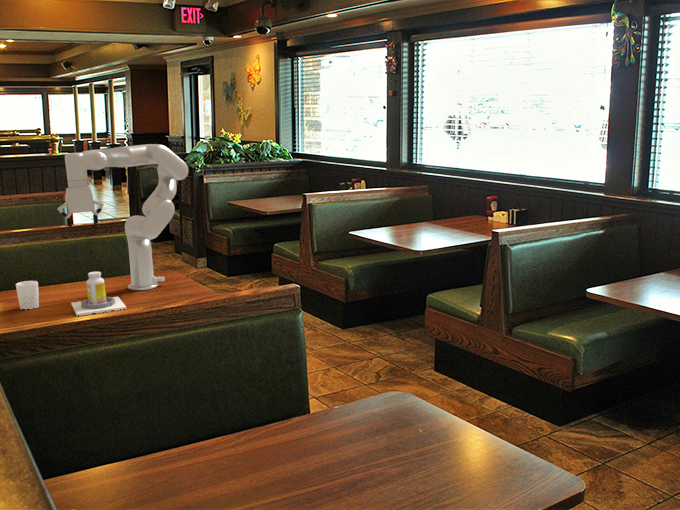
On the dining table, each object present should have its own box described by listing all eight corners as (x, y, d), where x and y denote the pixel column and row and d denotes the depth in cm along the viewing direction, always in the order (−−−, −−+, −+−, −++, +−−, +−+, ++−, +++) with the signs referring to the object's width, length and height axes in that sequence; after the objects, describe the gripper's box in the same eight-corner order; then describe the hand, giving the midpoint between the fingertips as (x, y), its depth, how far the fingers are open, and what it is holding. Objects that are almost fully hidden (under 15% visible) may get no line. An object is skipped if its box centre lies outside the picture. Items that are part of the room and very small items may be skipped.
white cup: (23, 305, 266) (20, 281, 264) (43, 304, 266) (40, 280, 264) (15, 310, 258) (12, 285, 256) (36, 310, 259) (33, 285, 257)
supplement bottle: (109, 302, 264) (106, 270, 261) (102, 306, 257) (99, 274, 255) (92, 302, 264) (89, 270, 262) (85, 306, 258) (82, 274, 255)
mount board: (118, 298, 273) (117, 293, 272) (126, 309, 257) (125, 303, 257) (71, 305, 265) (71, 299, 264) (76, 316, 249) (76, 309, 249)
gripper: (98, 181, 272) (103, 222, 276) (53, 185, 264) (58, 227, 267) (102, 183, 266) (107, 225, 270) (56, 186, 257) (61, 230, 261)
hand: (83, 226), depth 268 cm, fingers open, 9 cm apart
